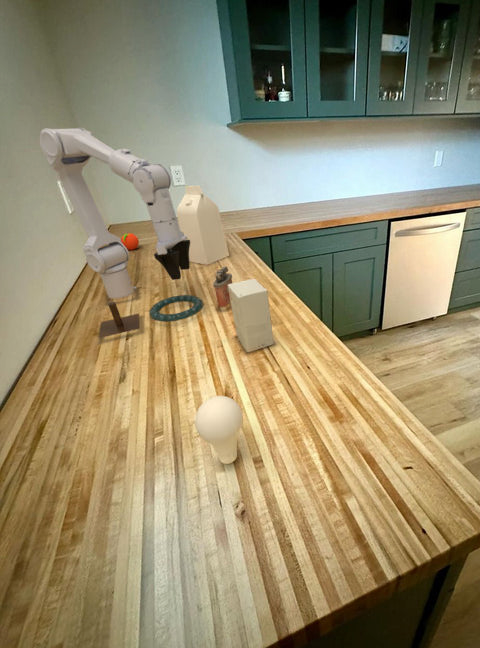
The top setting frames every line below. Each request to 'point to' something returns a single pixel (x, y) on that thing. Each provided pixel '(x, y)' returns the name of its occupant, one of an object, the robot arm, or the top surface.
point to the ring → (178, 316)
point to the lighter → (222, 286)
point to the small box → (251, 314)
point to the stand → (118, 323)
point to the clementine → (130, 241)
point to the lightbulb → (220, 425)
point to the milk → (201, 227)
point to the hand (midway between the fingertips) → (181, 273)
